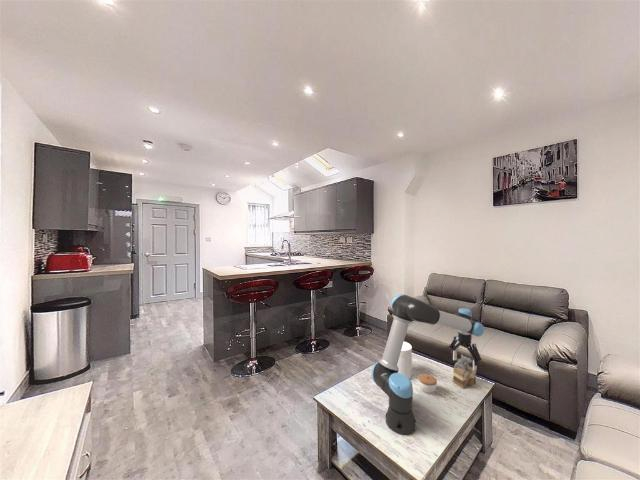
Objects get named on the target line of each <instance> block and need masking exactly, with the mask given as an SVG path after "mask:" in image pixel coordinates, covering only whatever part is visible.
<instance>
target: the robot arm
mask: <svg viewBox="0 0 640 480" xmlns="http://www.w3.org/2000/svg"><path fill="white" fill-rule="evenodd" d="M390 308H391V309H392V314H391V316H392V317H393V320H392V323H391V327H390V331H389V334H388V338H387V340H386V344H385V348H384V351H383V355H382V358H381V359H378V361H377V362H376V363H375V364H373V366H372V367H371V370H370V371H371V372H370V374H371V375H370V376H371V379H372V381H373V382H374V383H375V385H376V386H378V387H379V389H380V390H382V392H383V393H385V395H387V396H388V407H387V411H386V413H385V424H386V426H387V427H388V428H389V429H390V430H391V431H392V432H394V433H396V434H398V435H411V434H413V433H414V432H415V431H416V429H417V420H416V418H415V414H414V411H413V403H414V401H413V398H414V397H413V395H414V394H413V393H414V388H413V383H412V381H411V378H410V379H409V378H408V377H407V376H405V375H401V374H400V373H398V371H399V368H398V366H397V363H398V360H399V356H400V353H401V349H402V346H403V342H405V338H406V334H407V332H408V327H409V324H411V323H413V321H415V322H419V323H423V324H428V325H431V326H432V325H433V326H434V325H439V326H442V327H446V328H451V329H453V330H456V331H457V335H456V336H454V337H453V339H452V341H451V343H450V345H449V346H448V347H449V349H451V351H452V352H451V354H452V360H453V361H456V358H458V357H457V356H458V355H457V354H458V350H457V349H458V348H459V347H464V348H465V349H467V351H468V352H469V354H470V356H471V357H472V358H473V359H472V367H473V371H474V370H476V371H477V368H478V367H477V366H479V362H480V361H482V357H481V355H480V352H479V350H478V347H477V343H472V336H475V337H481V336H483V334H484V332H485V327H484V325H483V324H482V323H480V322H478V321H475V320H473V315H472V314H473V313H472V310H471V309H470V308H465V307H464V308H463V307H461V308H459V309H458V311H457V313H456V312H455V313H449V312H446V311H443V310H440V309H438V307H436V306H434V305H431V304H428V303H426V302H425V301H423V300H421V299H417V298H415V297H412V296H410V295H407V294H402V293H401V294H397V295H396V296H394V297H393V298H392V300H391V302H390ZM457 342H458V343H457Z"/></svg>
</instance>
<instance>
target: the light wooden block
mask: <svg viewBox="0 0 640 480" xmlns="http://www.w3.org/2000/svg"><path fill="white" fill-rule="evenodd" d="M469 369H470V370H469V371H468V370H467V368H466V366H465V370H466V372H465V373H464V372H463V369H462V368H460V367H458V366H457V367H456V368H455V366H454V367H453V369H452V370H453V371H452V372H453V376H456V377H457V378H459V379H460V380H462V381H465V380H468V379H471V378H475V377H476V378H477V370H474V371H473V366H471V365H469Z"/></svg>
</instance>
